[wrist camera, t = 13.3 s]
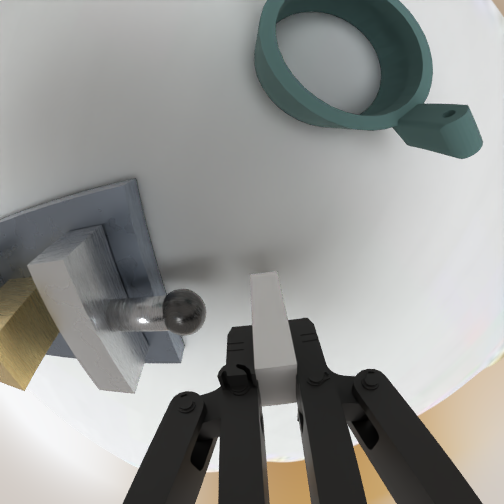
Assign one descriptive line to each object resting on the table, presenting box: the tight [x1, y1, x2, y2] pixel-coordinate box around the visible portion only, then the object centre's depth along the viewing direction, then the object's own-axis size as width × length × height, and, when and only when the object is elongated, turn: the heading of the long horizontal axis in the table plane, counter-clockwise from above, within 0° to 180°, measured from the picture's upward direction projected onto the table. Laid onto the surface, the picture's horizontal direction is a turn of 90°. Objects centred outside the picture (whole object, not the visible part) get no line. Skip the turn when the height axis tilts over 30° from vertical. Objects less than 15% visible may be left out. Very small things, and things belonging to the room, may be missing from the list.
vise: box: [0, 178, 185, 363], centre depth 16 cm, size 14×21×6 cm, turn 96°
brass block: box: [0, 277, 60, 391], centre depth 13 cm, size 4×6×8 cm, turn 96°
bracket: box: [254, 0, 483, 159], centre depth 8 cm, size 9×9×9 cm
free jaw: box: [27, 225, 206, 394], centre depth 14 cm, size 10×9×4 cm
